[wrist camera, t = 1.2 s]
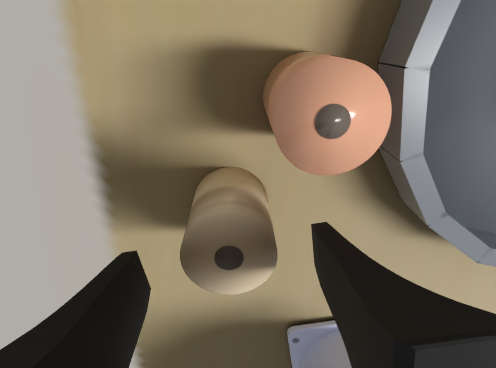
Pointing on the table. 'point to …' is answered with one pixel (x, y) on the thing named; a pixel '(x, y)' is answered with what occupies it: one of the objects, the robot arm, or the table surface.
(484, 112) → the groove tray
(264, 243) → the birch bead
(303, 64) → the terracotta bead
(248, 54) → the table surface
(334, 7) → the table surface
